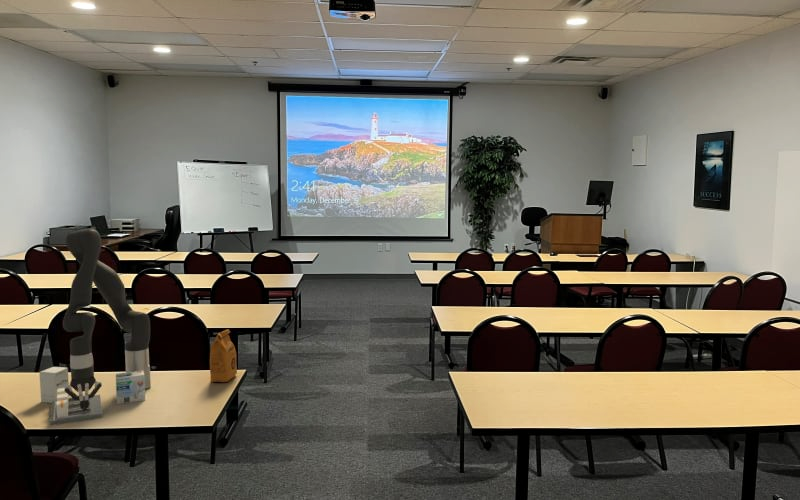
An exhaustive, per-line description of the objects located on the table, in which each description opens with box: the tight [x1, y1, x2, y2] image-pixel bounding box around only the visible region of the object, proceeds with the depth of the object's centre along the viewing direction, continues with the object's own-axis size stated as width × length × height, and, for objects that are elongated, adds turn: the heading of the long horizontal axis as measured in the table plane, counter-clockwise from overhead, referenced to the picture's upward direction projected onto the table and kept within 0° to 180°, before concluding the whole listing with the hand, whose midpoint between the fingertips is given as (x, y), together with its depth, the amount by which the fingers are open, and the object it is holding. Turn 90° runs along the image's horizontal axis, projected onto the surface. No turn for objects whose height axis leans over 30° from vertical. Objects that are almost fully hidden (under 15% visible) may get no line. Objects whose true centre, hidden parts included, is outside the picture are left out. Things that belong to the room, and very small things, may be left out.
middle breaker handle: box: [57, 394, 69, 403], centre depth 226 cm, size 4×4×5 cm
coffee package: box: [209, 329, 238, 383], centre depth 265 cm, size 10×12×22 cm
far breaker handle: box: [57, 388, 69, 400], centre depth 232 cm, size 4×4×5 cm
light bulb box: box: [115, 370, 146, 405], centre depth 240 cm, size 11×7×11 cm, turn 118°
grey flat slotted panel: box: [49, 394, 104, 427], centre depth 228 cm, size 17×22×2 cm
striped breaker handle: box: [56, 400, 68, 418], centre depth 219 cm, size 4×4×5 cm
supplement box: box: [38, 366, 70, 404], centre depth 239 cm, size 7×7×13 cm
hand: (84, 409), depth 223 cm, fingers closed
